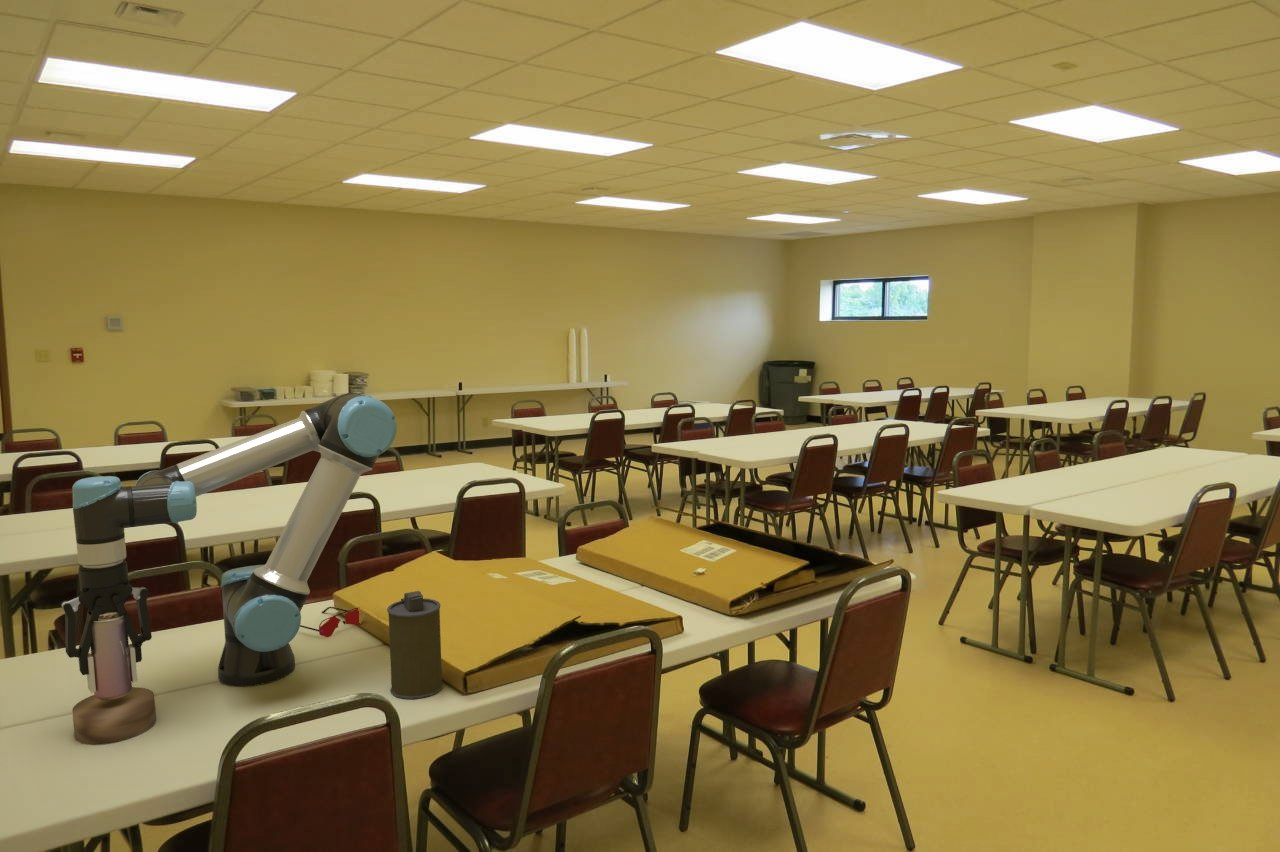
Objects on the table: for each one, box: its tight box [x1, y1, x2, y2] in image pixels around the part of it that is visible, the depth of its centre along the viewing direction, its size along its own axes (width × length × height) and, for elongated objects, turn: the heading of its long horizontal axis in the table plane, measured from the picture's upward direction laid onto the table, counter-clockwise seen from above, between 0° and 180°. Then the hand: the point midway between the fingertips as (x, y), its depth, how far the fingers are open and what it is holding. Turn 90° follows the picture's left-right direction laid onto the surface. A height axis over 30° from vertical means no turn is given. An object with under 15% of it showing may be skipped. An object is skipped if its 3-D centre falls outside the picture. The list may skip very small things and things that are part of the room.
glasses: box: [300, 606, 361, 638], centre depth 215 cm, size 14×16×5 cm
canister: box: [386, 590, 444, 700], centre depth 178 cm, size 11×10×20 cm
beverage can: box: [90, 612, 133, 700], centre depth 160 cm, size 6×6×15 cm
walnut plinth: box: [71, 686, 157, 746], centre depth 162 cm, size 13×13×5 cm
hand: (113, 684), depth 161 cm, fingers closed on beverage can, 6 cm apart
